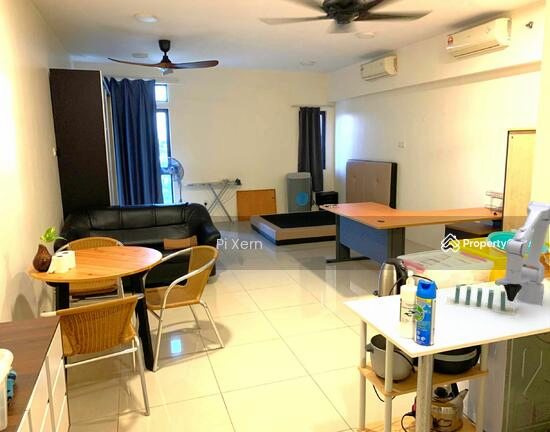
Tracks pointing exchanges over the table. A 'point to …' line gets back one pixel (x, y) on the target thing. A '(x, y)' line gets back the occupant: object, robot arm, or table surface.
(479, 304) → the teal rectangular block
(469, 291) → the muted teal oblong block
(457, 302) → the tile
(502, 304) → the teal green rectangular block
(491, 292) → the tile
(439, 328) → the table surface
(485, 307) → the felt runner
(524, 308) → the table surface
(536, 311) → the table surface
